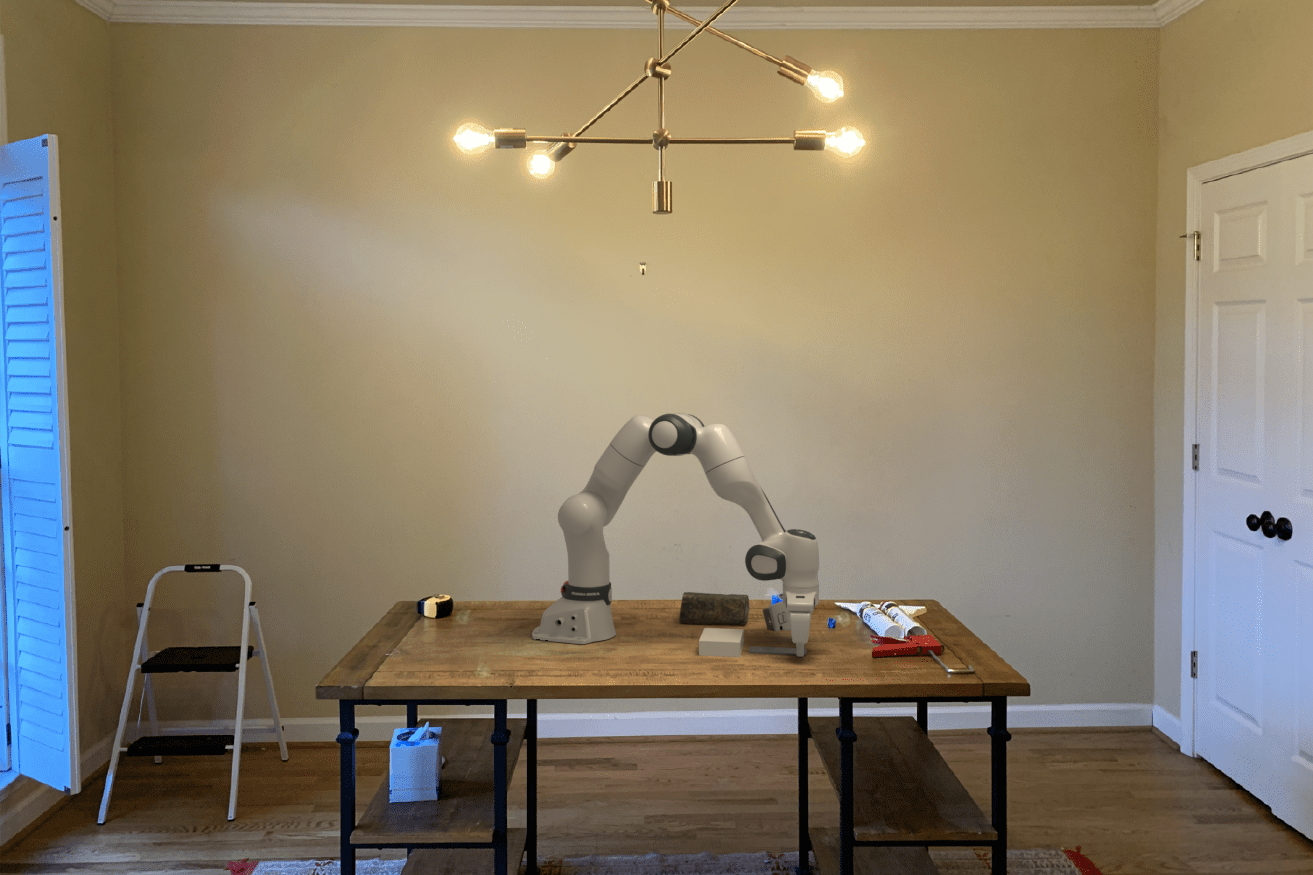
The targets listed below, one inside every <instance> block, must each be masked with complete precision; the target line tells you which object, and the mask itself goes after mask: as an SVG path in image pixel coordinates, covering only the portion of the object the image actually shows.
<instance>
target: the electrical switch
mask: <svg viewBox="0 0 1313 875" xmlns="http://www.w3.org/2000/svg"><path fill="white" fill-rule="evenodd" d="M762 613H763V618H764V620H765V625H766V630H768V631H769V630H770V631H774V632H779V631H790V632H791V627H790V617H789V611H787V608H786V605H785V604H784V603H783V600H781V601H779V602H776V603H774V604H771V605H768V607H766V608H762Z"/></svg>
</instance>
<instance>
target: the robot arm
mask: <svg viewBox="0 0 1313 875" xmlns="http://www.w3.org/2000/svg"><path fill="white" fill-rule="evenodd" d="M656 452H657V453H659V454H661V455H664V456H666V457H667V456H668V457H671V456H672V457H681V456H686V455H693V456H695V457H696V458H697V459H698V462H699V463H700V465H701V467H702V469H703V472H704V474H705V476H706V479H707V481H708V483H709V485H710V487H711V488H712V490H713V491H714V493H715V494H716V495H717V496H718V497H719V498H721V499H722V500H725V501H728V502H732V503H733V504H735V505H737V506H739V507H741V508H742V509H743V510H744V511H745V512H746V513H747V515H748V516H749V518H750V520H751V521H752V524H753V525H754V527H755V529H756V532H757V533H758V536H760V539H761V541H760V542H758V543H755V544H754V545H753V546H751V547H750V548H748V550H747V552H746V554H745V557H744V558H745V559H744V563H745V568H746V571H747V572H748V574H749V575H750V576H751V577H752V578H753V579H755V580H757V581H763V582H764V581H765V582H767V581H775V580H781V581H782V601H783V603H784V604H785V605H786V608H787V611H789V617H790V627H791V631H790V635H791V641H792V643H793V644H795V647H796V655H795V656H796V657H798V658H799V657H804V649H805V646H806V645H805V644H807V643H808V641H809V635H810V627H811V620H812V614H813V612H814V610H815V608H816V606H818V605H819V604H820V582H819V581H820V580H819V579H818V573H819V569H820V554H819V552H820V550H819V545H818V544H819V543H818V539H817V537H816V536H815V535H814V534H813V533H811V532H809V531H807V530H804V529H795V528H791V529H787V530H786V529H785V528H784V526H783V524H782V523H781V520H780V519H779V516H778V515H777V513H776V512H775V510H774V507H773V506H772V503H771V502H770V500H769V498H768V496H767V495H766V493H765V492H764V490H763V489H762V487H761V485H760V483H759V482H758V480H757V479H756V477H755V475H754V473H753V470H752V469H751V466H750V464H749V462H748V460H747V458H746V455H745V453H744V451H743V449H742V447H741V445H740V444H739V441H738V440H737V438H736V437H735V436H734V434H733V432H732V431H731V429H730V428H729V427H728V426H727V425H725V424H723V423H710V424H708V425H706V426H705V424H704V423H703V421H701V419H700V418H698V417H697V416H695V415H693V414H687V413H685V412H684V413H683V412H676V413H675V412H674V413H665V414H661V415H659V416H658V417H656V418H655V419H652V418H651V417H650V416H646V415H643V414H637V415H634V416H632V417H631V418H630V419H629V420H627V422H625V423H624V425H623V426H622V427H621V428H620V429H619V430H618V431H617V433H616V434H615V436H614V437H613V438H612V440H611V441H610V442H609V444H608V445H607V447H606V449H605V450H604V451H603V452H602V454H601V455H600V458H599V459H598V460H597V461H596V463H595V464H594V468H593V471H592V473H591V474H590V477H589V479H588V481H587V484H586V485H585V487H584V488H583V489H582V490H581V491H580V492H578V493H576V494H574V495H571V496H570V497H568V498H566V500H565V501H564V502H562V505H561V506H560V508H559V509H558V512H557V522H558V525H559V527H560V528H561V529H562V534H563V536H564V542H565V546H566V552H567V565H568V566H567V567H568V568H567V569H568V571H567V572H568V574H567V575H568V580H566V581H564V582H563V583H562V585H561V588H560V593H561V597H560V598H559V599H557V600H556V601H555V602H553V603H552V604H551V605H550V606H548V607H547V608H546V609H545V610H544V611H543V613H542V614H541V619H540V625H539V626H537V627H535V628H534V629H533V630H532V633H531V638H532V639H533V640H536V639H540V640H539V641H545V640H548V641H547V642H555V643H556V642H557V643H563V644H564V643H566V644H575V645H586V644H590V643H594V642H599V641H604V640H605V641H606V640H608V639H612V638H614V637H615V636H616V635H617V632H616V629H615V625H614V619H613V615H612V607H611V603H612V600H613V599H612V598H613V591H612V589H613V588H612V582H611V581H610V553H609V551H608V549H607V545H606V542H605V541H606V540H605V536H604V527H606V526H608V525H610V523H611V522H612V520H613V519H614V517H615V515H616V514H617V512H618V510H619V509H620V507H621V505H622V503H623V501H624V500H625V497H626V495H627V494H628V492H629V490H631V487H632V486H633V484H634V483H635V481H636V480H637V478H638V477H639V475H640V474H641V472H642V471H643V470H644V468H645V467H646V465H647V464H648V462H649V461H650V460H651V458H652V457H653V455H655V453H656Z"/></svg>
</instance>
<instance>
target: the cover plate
mask: <svg viewBox="0 0 1313 875" xmlns="http://www.w3.org/2000/svg"><path fill="white" fill-rule="evenodd" d="M807 650H808V649H807V648H804V656H805V657H806V656H807ZM748 654H758V655H759V654H763V655H781V656H797V655H796V648H794V647H772V646H751V645H750V646H749V649H748ZM804 656H803V657H804Z"/></svg>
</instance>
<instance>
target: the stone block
mask: <svg viewBox="0 0 1313 875" xmlns="http://www.w3.org/2000/svg"><path fill="white" fill-rule="evenodd" d="M680 603H681V604H680V609H679V610H680V611H679V623H681V624H691V625H728V624H729V625H731V624H733V625H745V624H747V622H748V620H749V613H750V610H751V609H750V608H751V606H750V599H749V595H748V594H736V593H735V594H734V593H731V594H725V593H723V594H722V593H711V592H710V593H707V592H694V591H693V592H692V591H685V592H683V594H682V598H681V602H680Z"/></svg>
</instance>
